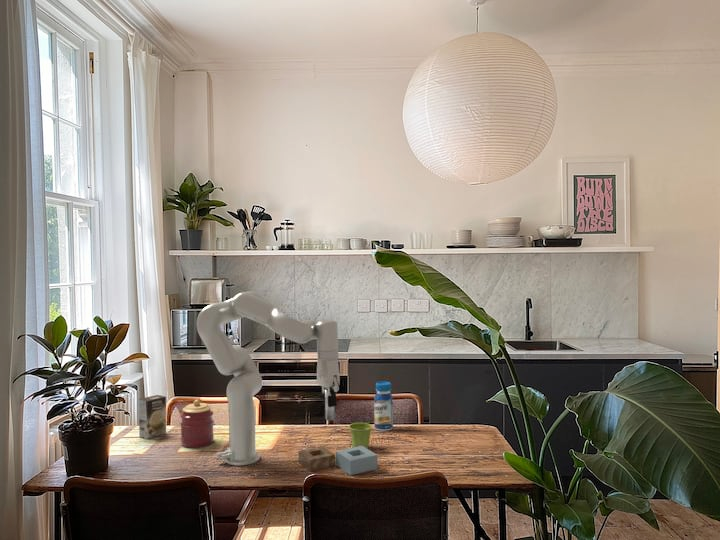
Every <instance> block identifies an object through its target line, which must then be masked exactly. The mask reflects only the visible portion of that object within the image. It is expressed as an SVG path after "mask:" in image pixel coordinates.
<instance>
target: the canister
mask: <svg viewBox="0 0 720 540" xmlns="http://www.w3.org/2000/svg"><path fill="white" fill-rule="evenodd" d="M213 415H214V411H213V410H212V406H211V405H209V404H207V403H206V402H201V401H200V400H199V399H195V400H194V401H193V403H189V404H187V405H186V406H185V407H183V408H182V413H181V414H180V415H179V416H180V418H181V422H180V443H181V446H183V447H184V448H189V449H190V448H201V447H206V446H209V445H211V444H212V443H213V442H214V439H215V434H214V421H215V420H214V419H213Z"/></svg>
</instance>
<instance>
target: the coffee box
mask: <svg viewBox="0 0 720 540" xmlns="http://www.w3.org/2000/svg"><path fill="white" fill-rule="evenodd" d="M138 401H139V402H138V403H139V404H138V405H139V406H138V407H139V410H138V414H139V416H138V419H139V421H138V423H139V425H138V427H139V428H138V430H139V431H138V433H139V435H138V436H139V437H141V438H143V437H144V439H146V438H147V440H148V438H149V439H151V438H155V436H156V437H159V436H163V435H166V434H167V397H166V396H165V395H164V396H163V395H161V394H160V395H159V394H156V395H152V396H146V397H142V398H139V399H138ZM165 433H166V434H165ZM158 435H159V436H158Z"/></svg>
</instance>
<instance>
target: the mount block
mask: <svg viewBox="0 0 720 540" xmlns="http://www.w3.org/2000/svg"><path fill="white" fill-rule="evenodd" d="M298 464H300V465H301V466H302V467H304V468H305V467H306V468H305V469H307V470H308V471H309V472H313V471H317V470H321V469H326V468H330V467H335V466H336V453H334V452H332V451H330V450H329V449H328V448H326V447H325V446H319V447H318V446H317V447H312V448H308V449H302V450H298Z"/></svg>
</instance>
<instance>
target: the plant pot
mask: <svg viewBox="0 0 720 540" xmlns="http://www.w3.org/2000/svg"><path fill="white" fill-rule="evenodd" d="M348 429H349V432H350V435H351V443H352V444H351V445H352V448H353V447H358V446H363V447H365V448H367V449H368V450H369V444H370V438H371V432H372V429H373V425H372V424H370V423H367V422H353V423H350V424H349V425H348Z"/></svg>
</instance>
